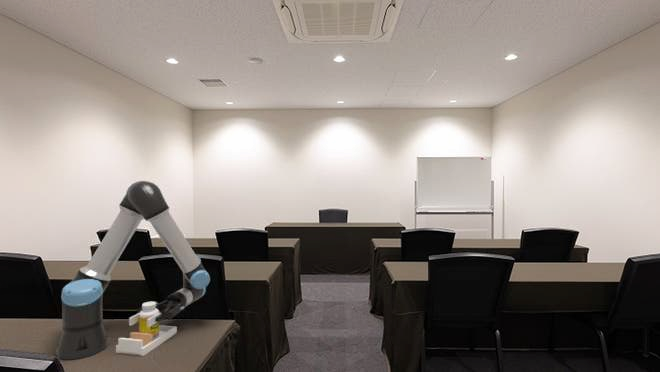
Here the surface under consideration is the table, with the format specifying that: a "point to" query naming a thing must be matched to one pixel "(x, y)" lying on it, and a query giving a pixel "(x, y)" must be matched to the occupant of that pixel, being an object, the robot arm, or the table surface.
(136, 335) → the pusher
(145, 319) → the supplement bottle
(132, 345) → the tray
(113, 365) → the table surface
